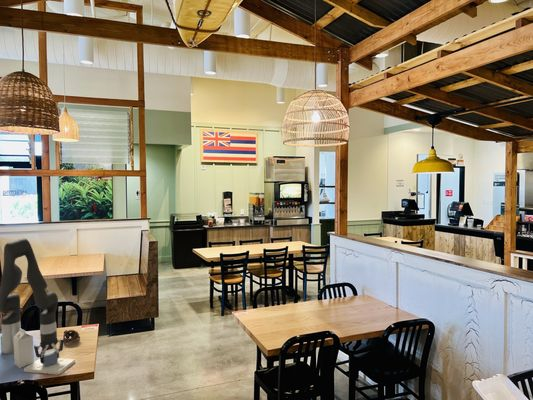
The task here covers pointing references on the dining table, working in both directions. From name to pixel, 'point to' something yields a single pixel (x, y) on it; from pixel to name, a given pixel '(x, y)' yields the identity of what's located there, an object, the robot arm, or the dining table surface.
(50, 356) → the blue-grey block
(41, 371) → the shaft plate
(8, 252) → the robot arm
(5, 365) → the dining table surface
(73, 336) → the dark brown rounded lump
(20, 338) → the milk carton
